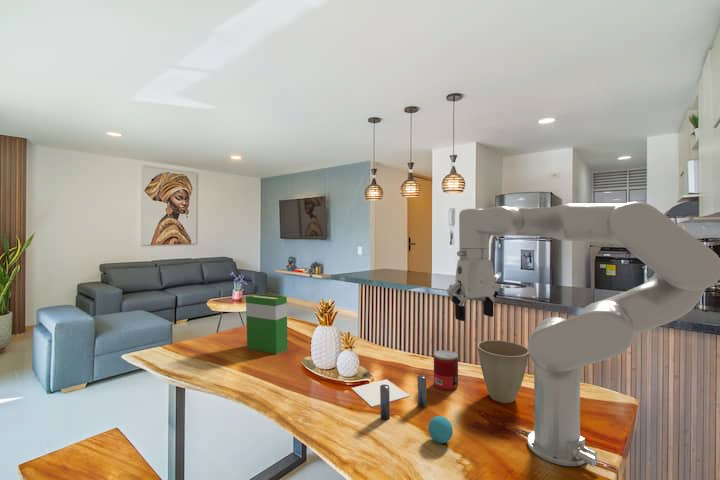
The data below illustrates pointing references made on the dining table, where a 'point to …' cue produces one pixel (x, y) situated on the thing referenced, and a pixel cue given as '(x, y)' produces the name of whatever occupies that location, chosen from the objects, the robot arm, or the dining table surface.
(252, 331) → the green cereal box
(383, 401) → the left post
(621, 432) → the dining table surface
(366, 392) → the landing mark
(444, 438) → the teal sphere
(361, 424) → the dining table surface
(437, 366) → the canned food
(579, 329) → the robot arm
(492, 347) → the plant pot
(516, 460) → the dining table surface
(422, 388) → the right post
